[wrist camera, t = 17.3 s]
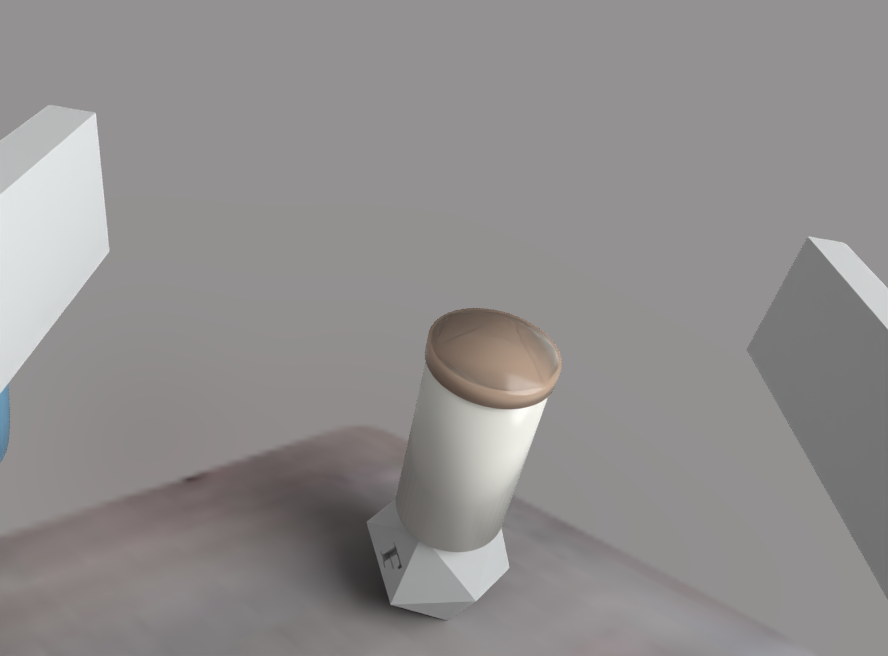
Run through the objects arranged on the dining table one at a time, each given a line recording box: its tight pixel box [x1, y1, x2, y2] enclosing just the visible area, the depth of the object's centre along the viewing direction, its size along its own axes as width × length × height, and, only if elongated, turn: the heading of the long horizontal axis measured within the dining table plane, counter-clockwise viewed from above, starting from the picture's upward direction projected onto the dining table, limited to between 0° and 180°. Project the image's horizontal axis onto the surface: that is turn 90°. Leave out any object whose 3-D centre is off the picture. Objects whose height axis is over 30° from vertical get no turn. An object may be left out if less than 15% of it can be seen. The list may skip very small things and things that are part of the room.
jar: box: [396, 308, 562, 552], centre depth 39 cm, size 7×7×12 cm
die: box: [367, 498, 509, 621], centre depth 45 cm, size 8×9×10 cm
